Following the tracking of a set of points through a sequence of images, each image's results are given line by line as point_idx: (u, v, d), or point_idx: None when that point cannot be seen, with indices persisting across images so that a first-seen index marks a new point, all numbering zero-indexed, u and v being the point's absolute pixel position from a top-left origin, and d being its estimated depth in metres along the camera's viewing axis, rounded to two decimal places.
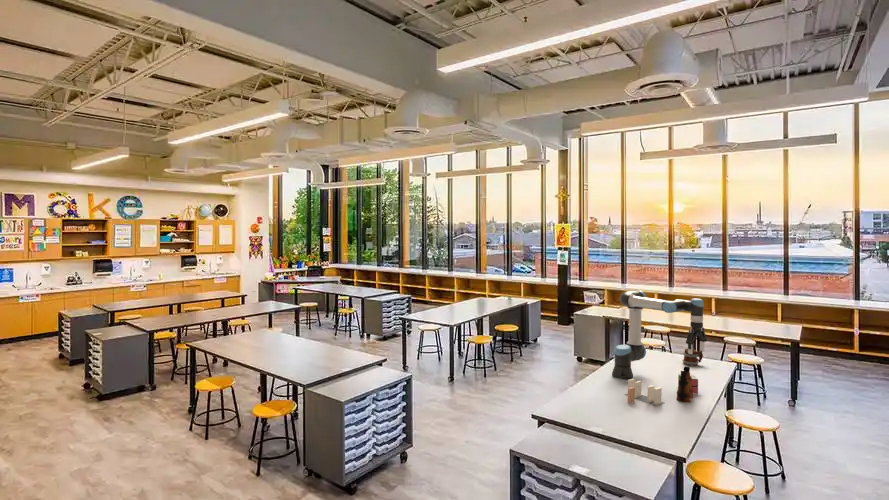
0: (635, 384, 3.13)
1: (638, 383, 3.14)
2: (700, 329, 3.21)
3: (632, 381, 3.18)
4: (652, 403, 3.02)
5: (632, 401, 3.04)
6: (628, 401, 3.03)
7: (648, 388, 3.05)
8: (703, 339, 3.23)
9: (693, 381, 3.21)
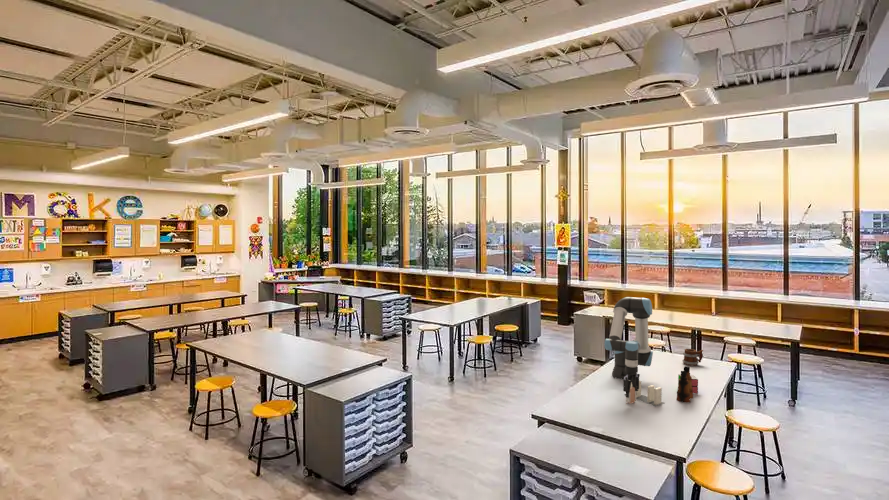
0: None
1: None
2: (635, 373, 3.04)
3: None
4: (652, 403, 3.02)
5: (632, 401, 3.04)
6: None
7: (648, 388, 3.05)
8: (635, 387, 3.04)
9: (693, 381, 3.21)
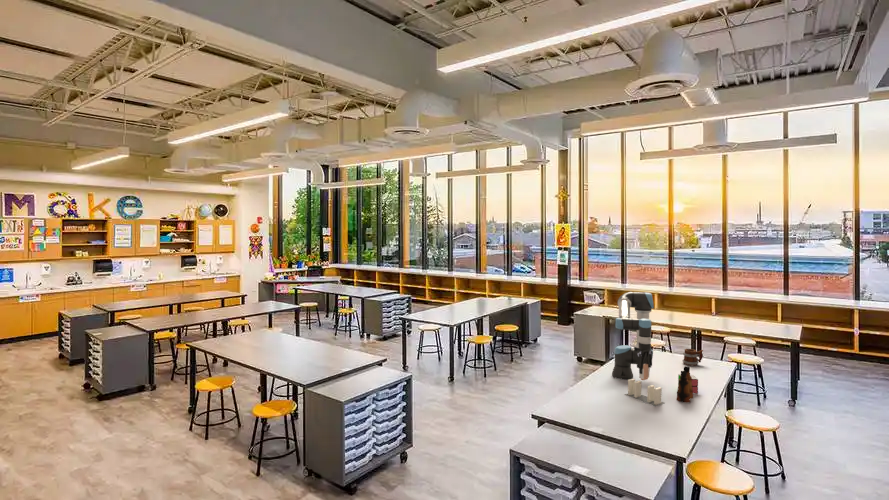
0: (635, 384, 3.13)
1: (638, 383, 3.14)
2: (648, 350, 3.10)
3: (632, 381, 3.18)
4: (652, 403, 3.02)
5: (645, 377, 3.09)
6: None
7: (648, 388, 3.05)
8: (649, 364, 3.10)
9: (693, 381, 3.21)
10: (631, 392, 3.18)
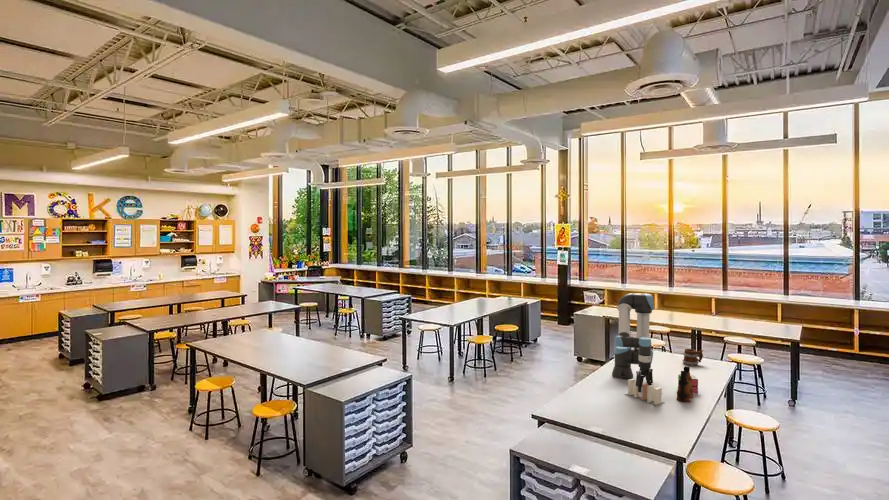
0: (635, 384, 3.13)
1: None
2: (648, 369, 3.10)
3: (632, 381, 3.18)
4: (652, 403, 3.02)
5: (645, 397, 3.10)
6: (641, 397, 3.09)
7: (648, 388, 3.05)
8: (649, 382, 3.11)
9: (693, 381, 3.21)
10: (631, 392, 3.18)
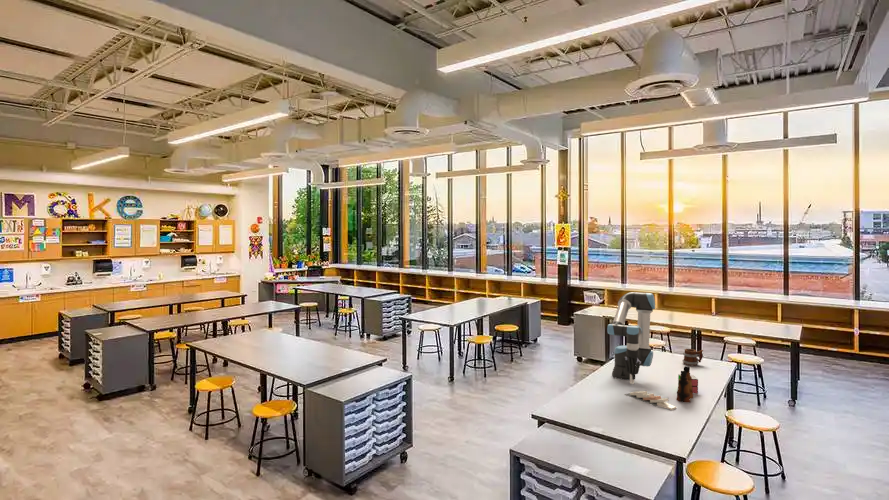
0: (647, 396, 3.06)
1: (650, 396, 3.06)
2: (635, 358, 3.15)
3: None
4: (652, 403, 3.02)
5: None
6: (645, 398, 3.07)
7: (661, 401, 2.97)
8: (632, 371, 3.17)
9: (693, 381, 3.21)
10: (633, 394, 3.17)
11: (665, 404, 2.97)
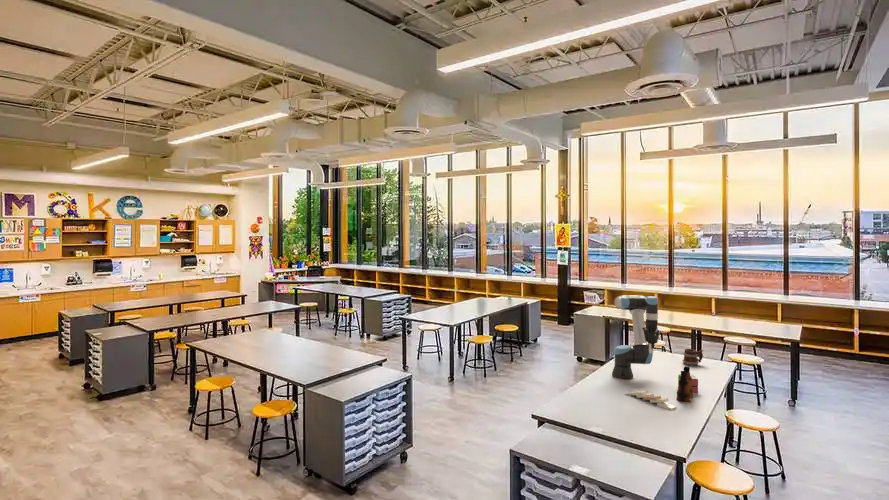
0: (647, 396, 3.06)
1: (650, 396, 3.06)
2: (654, 327, 3.23)
3: None
4: (652, 403, 3.02)
5: None
6: (645, 398, 3.07)
7: (661, 401, 2.97)
8: (651, 340, 3.25)
9: (693, 381, 3.21)
10: (633, 394, 3.17)
11: (665, 404, 2.97)
